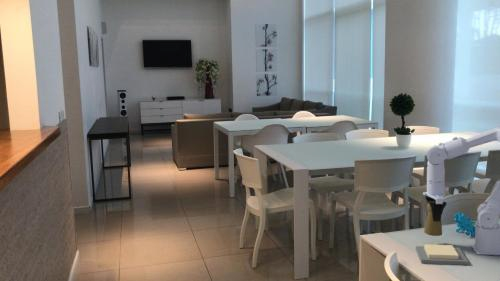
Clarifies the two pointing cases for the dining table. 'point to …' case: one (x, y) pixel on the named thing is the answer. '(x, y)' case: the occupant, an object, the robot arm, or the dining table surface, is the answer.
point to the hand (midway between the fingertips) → (435, 218)
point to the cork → (432, 224)
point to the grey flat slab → (441, 255)
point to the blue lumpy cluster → (465, 224)
